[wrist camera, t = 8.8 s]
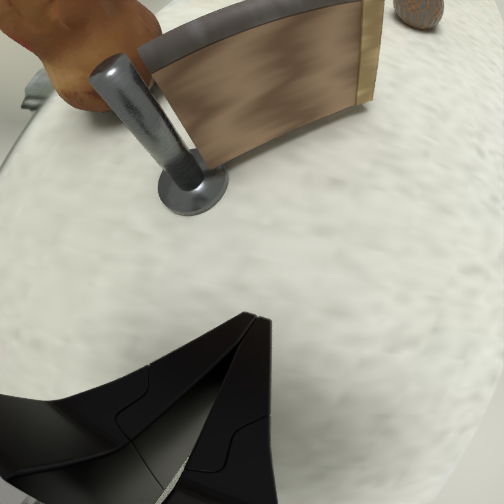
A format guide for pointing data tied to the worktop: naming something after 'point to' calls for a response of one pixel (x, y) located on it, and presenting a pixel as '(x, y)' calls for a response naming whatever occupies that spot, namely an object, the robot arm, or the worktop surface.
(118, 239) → the worktop surface
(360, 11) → the gate leaf
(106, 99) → the hinge post
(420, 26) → the vase
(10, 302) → the worktop surface
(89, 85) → the butternut squash
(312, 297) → the worktop surface
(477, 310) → the worktop surface
